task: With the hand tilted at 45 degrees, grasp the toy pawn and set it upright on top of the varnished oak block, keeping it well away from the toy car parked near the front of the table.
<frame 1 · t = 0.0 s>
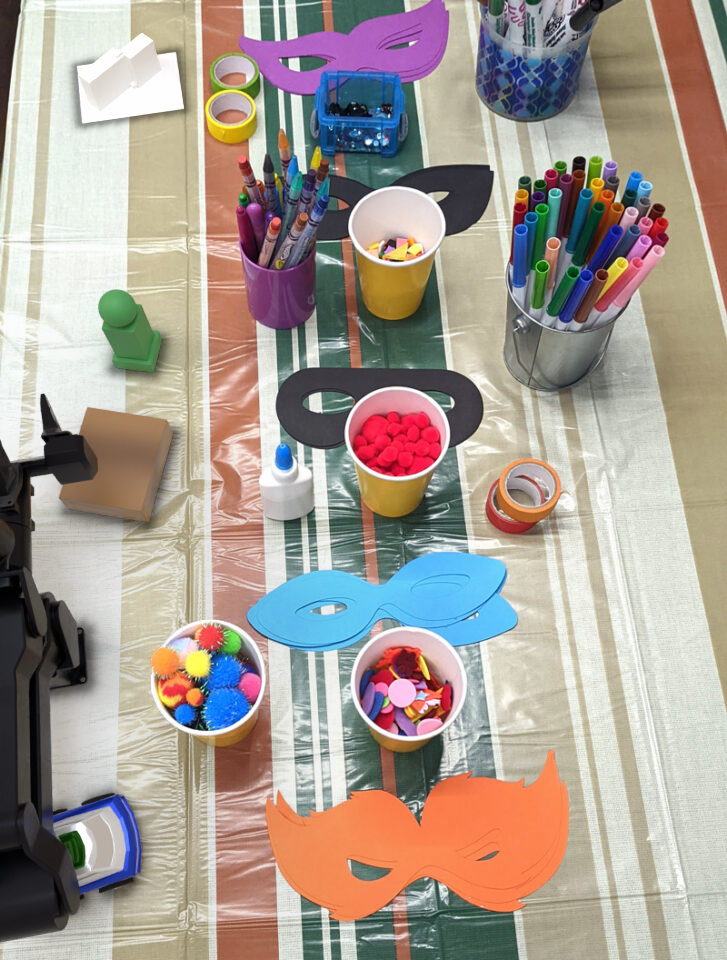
hand: (1, 402, 96), 15 cm above the table, tool horizontal, fingers open, 9 cm apart
napkin holder: (130, 88, 131), on the table
toy pawn: (139, 353, 115), on the table
toy car: (88, 849, 94), on the table, touching arm
oak block: (122, 470, 109), on the table
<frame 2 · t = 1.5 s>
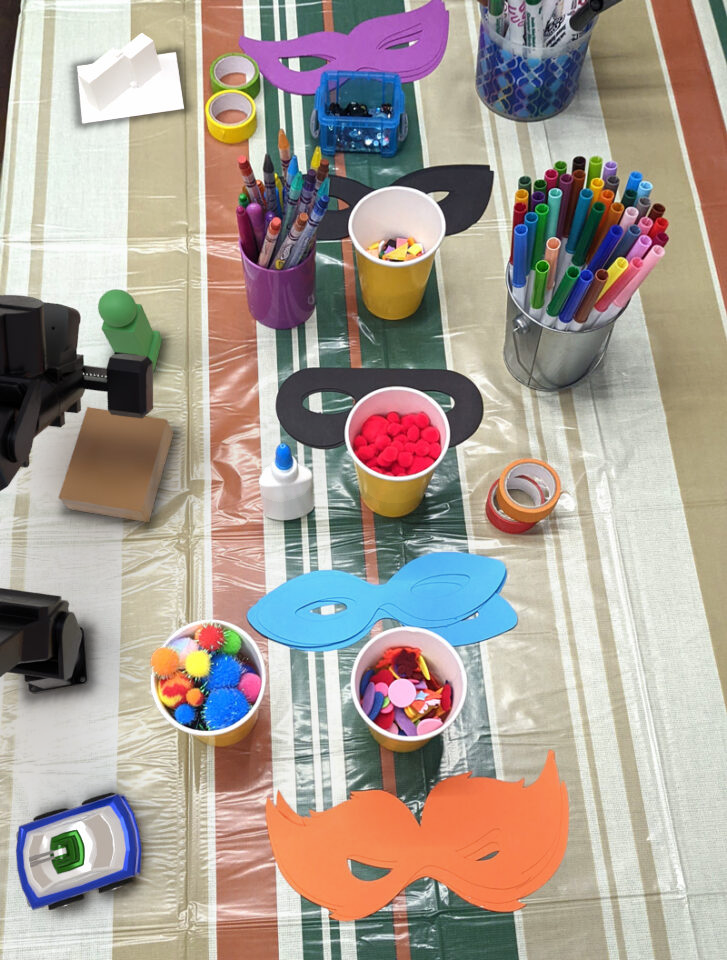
hand: (92, 355, 99), 14 cm above the table, tool tilted 45°, fingers open, 9 cm apart
toy car: (88, 849, 94), on the table
everything else where it was.
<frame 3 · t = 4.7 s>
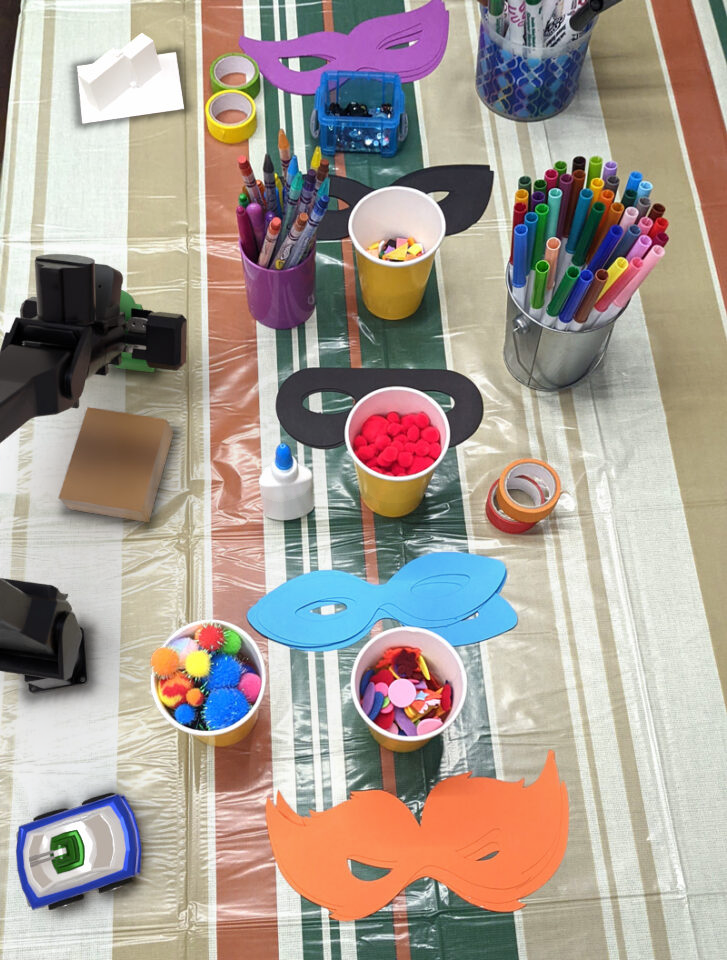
hand: (129, 317, 109), 7 cm above the table, tool tilted 45°, fingers closed on toy pawn, 4 cm apart
toy pawn: (139, 353, 115), on the table, touching gripper
everything else where it was.
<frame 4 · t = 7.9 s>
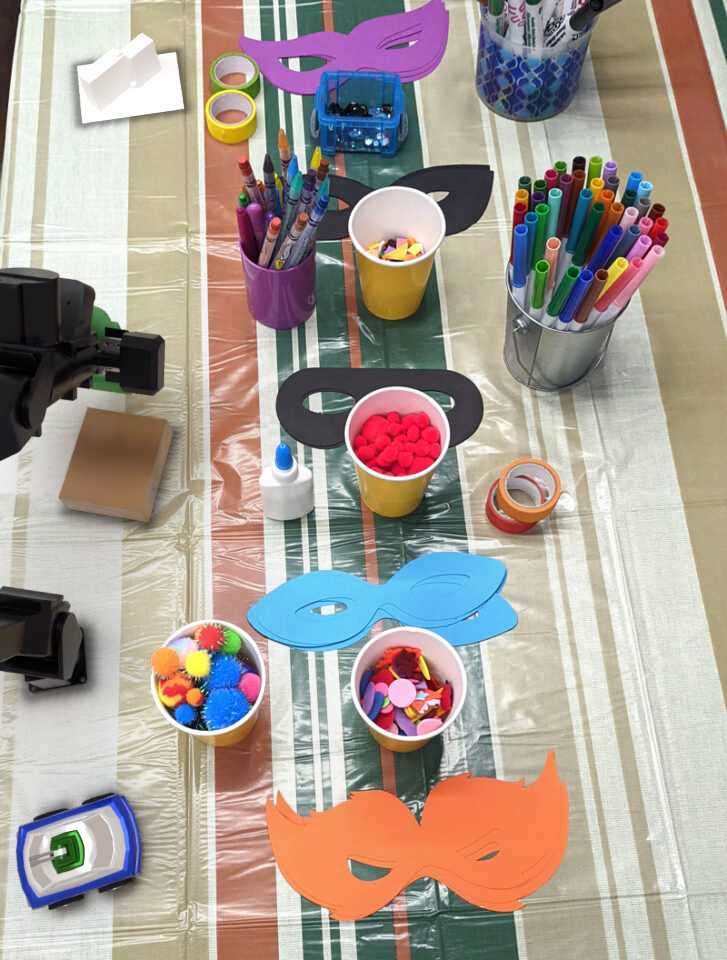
hand: (105, 335, 101), 13 cm above the table, tool tilted 45°, fingers closed on toy pawn, 4 cm apart
toy pawn: (117, 373, 106), point 7 cm above the table, touching gripper
everything else where it was.
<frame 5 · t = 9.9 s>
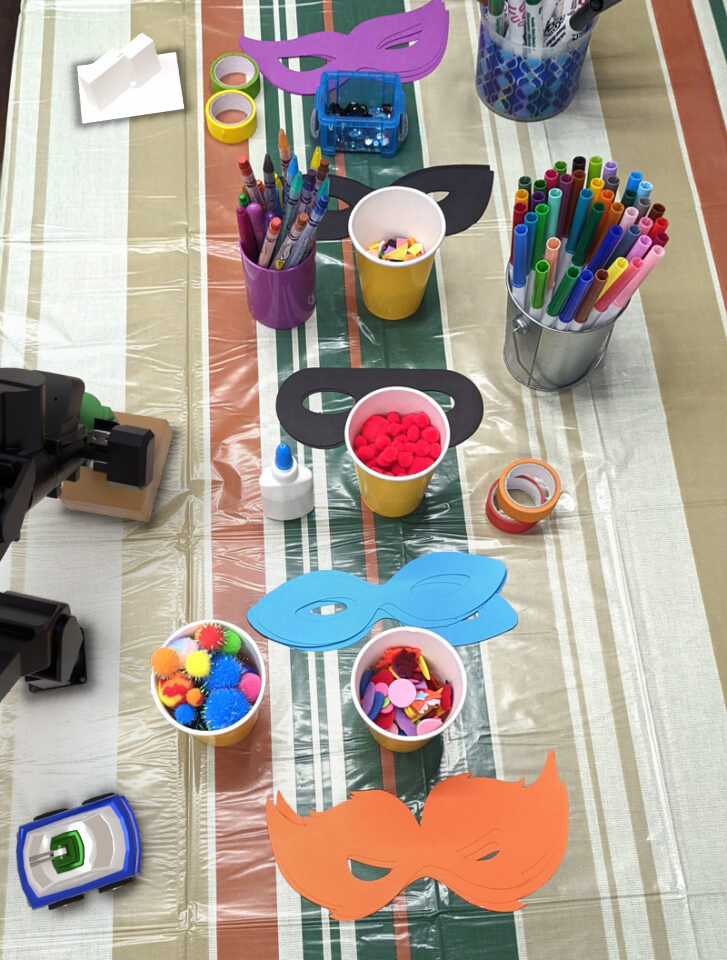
hand: (97, 418, 98), 12 cm above the table, tool tilted 45°, fingers closed on toy pawn, 4 cm apart
toy pawn: (109, 452, 104), point 6 cm above the table, touching gripper
everything else where it was.
when the fingers open (11 cm above the table, at t = 10.9 s): toy pawn stays where it is, resting on oak block.
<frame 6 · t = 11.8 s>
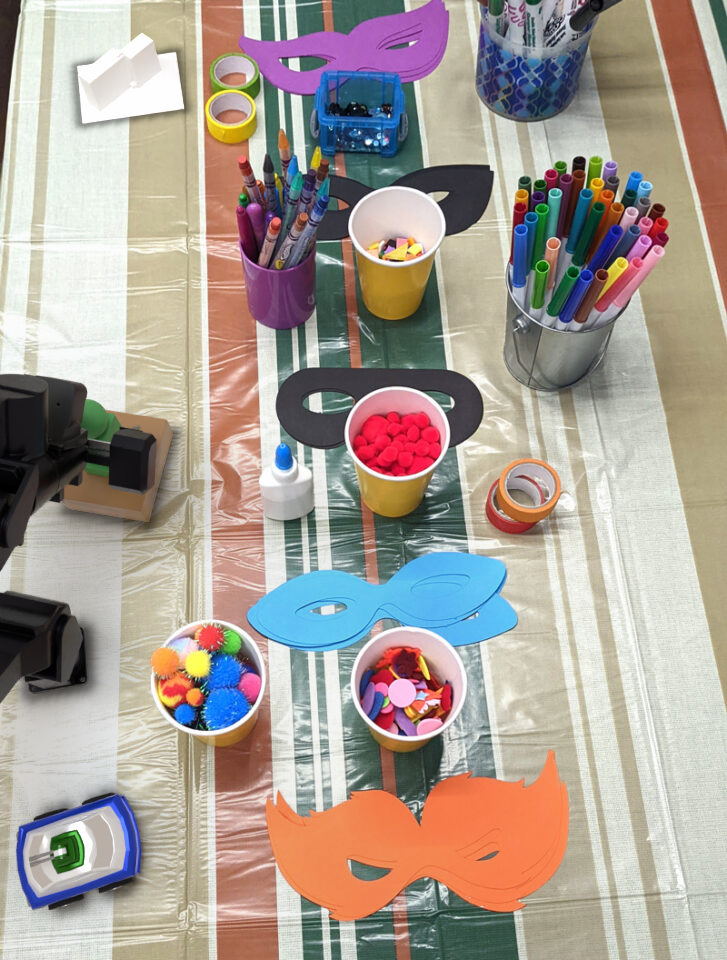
hand: (99, 421, 99), 11 cm above the table, tool tilted 45°, fingers open, 9 cm apart
toy pawn: (113, 458, 105), point 4 cm above the table, touching oak block
everything else where it was.
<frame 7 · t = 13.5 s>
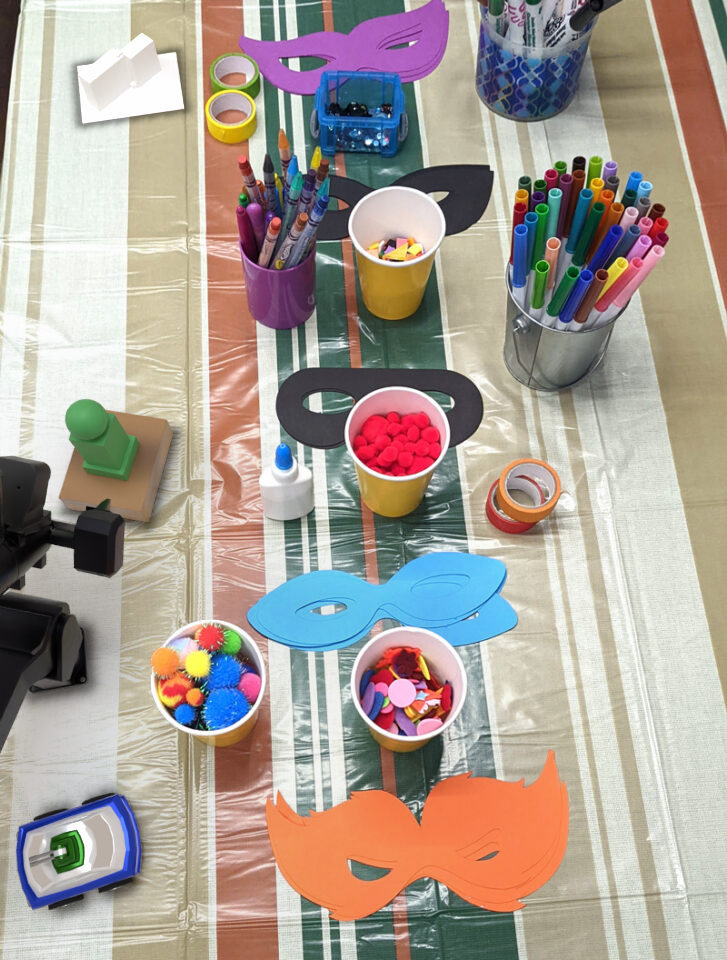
hand: (67, 494, 94), 13 cm above the table, tool tilted 45°, fingers open, 9 cm apart
nothing on the table moved.
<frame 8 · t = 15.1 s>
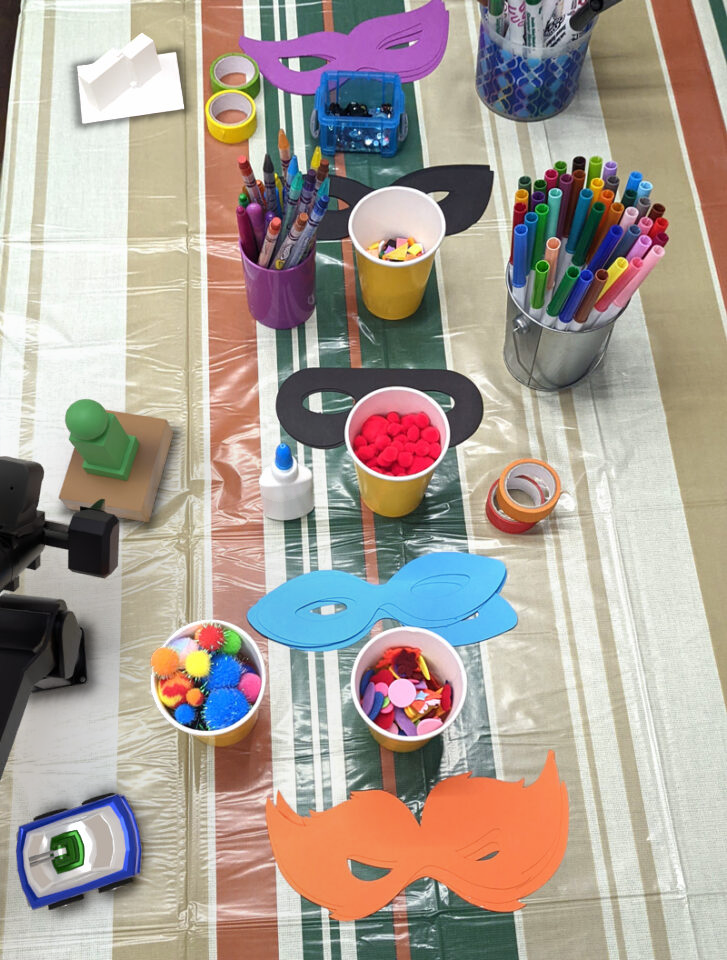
hand: (61, 494, 93), 14 cm above the table, tool tilted 45°, fingers open, 9 cm apart
nothing on the table moved.
at the end: toy pawn inside the target area on the oak block (0.0 cm from its centre), point 4.0 cm above the oak block's base; toy pawn tilted 0°; toy pawn touching oak block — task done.
